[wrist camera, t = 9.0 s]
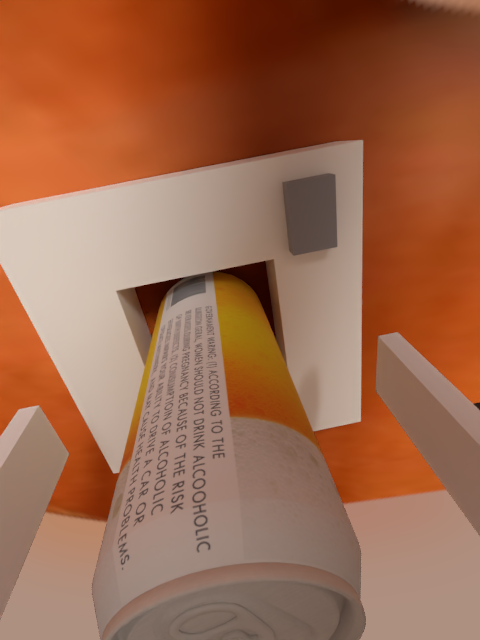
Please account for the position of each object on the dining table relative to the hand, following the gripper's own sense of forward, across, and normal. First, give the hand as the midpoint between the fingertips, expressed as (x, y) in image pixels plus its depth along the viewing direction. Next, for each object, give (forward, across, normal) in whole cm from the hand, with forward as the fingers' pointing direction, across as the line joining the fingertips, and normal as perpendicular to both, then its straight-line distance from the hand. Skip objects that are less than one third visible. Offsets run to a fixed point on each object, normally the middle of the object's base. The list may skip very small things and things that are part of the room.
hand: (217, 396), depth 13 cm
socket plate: (+8, 0, 0) cm, 8 cm away
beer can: (+8, 0, 0) cm, 8 cm away
